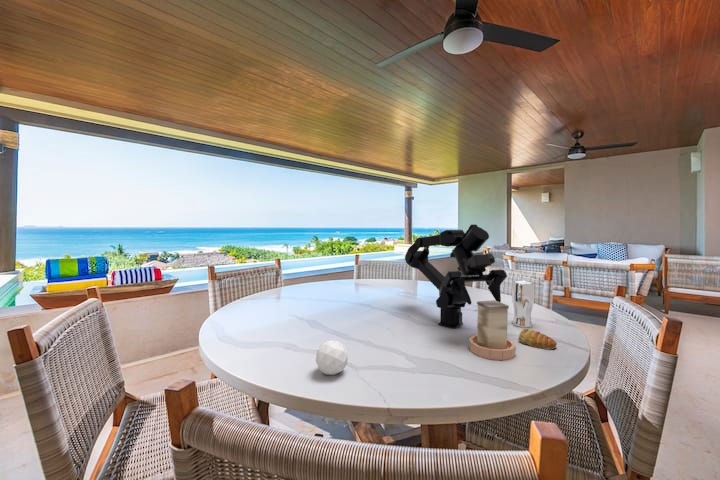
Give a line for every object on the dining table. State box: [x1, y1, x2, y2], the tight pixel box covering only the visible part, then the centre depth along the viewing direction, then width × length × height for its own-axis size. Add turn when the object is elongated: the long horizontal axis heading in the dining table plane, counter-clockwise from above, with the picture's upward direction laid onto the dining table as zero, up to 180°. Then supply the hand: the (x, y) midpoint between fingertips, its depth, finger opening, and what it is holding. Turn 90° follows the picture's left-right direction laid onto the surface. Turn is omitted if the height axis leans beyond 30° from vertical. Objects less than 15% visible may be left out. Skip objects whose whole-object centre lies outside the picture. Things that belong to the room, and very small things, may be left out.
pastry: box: [518, 327, 557, 350], centre depth 90 cm, size 9×7×4 cm
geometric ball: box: [315, 339, 349, 376], centre depth 74 cm, size 8×8×8 cm
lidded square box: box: [476, 299, 510, 350], centre depth 85 cm, size 6×6×12 cm
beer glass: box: [511, 280, 535, 329], centre depth 106 cm, size 7×7×15 cm
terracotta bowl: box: [468, 334, 517, 361], centre depth 85 cm, size 12×12×2 cm
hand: (485, 303), depth 88 cm, fingers open, 9 cm apart
